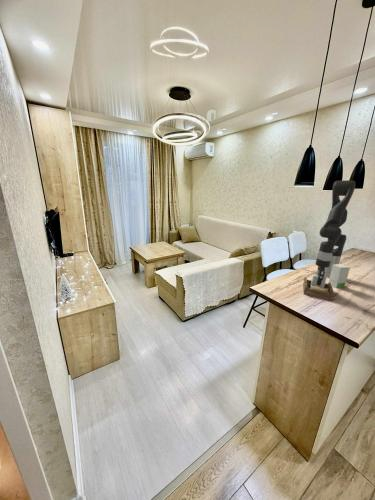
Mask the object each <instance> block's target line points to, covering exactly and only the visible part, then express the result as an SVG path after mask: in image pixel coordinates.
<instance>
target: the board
mask: <svg viewBox="0 0 375 500" xmlns="http://www.w3.org/2000/svg"><path fill="white" fill-rule="evenodd" d="M320 278H322V277H320ZM317 280H318V276H317V274H315V273H313V274H312V277H311V285H312V286H316V287H321V288H324V286H325V283H326V282H327V277H326V276H324V278H323V280H322V282H321V285H320V286H319V285H317ZM310 287H311V286H310Z"/></svg>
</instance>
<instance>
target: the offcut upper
mask: <svg viewBox="0 0 375 500" xmlns="http://www.w3.org/2000/svg"><path fill="white" fill-rule="evenodd" d="M310 289H314V290H318V291H323V292H328V289H326V288H321V287H316V286H312V285H311V287H310Z"/></svg>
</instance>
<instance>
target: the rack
mask: <svg viewBox="0 0 375 500" xmlns="http://www.w3.org/2000/svg"><path fill="white" fill-rule="evenodd" d="M311 281H312V279H311V280H310V279H307V277H304V278H303V282H302V289H303V295H306V296H309V297H313V298H318V299H323V300H327V301H333V300H334V296H335V291H334V289H333V288H334V287H333V286H332V285H331V283H329V281H328V283H326V282H325V286H324V288H326V289H328V292H323V291H318V290H314V289H309V288H310V286H311Z"/></svg>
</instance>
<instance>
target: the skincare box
mask: <svg viewBox="0 0 375 500" xmlns="http://www.w3.org/2000/svg"><path fill="white" fill-rule="evenodd" d="M350 269H351V266H348V265H346V264H341V263H339V264H333V267H332V271H331V275H330V277H328V278H329V279H328V282H329V283H331V285H332V288H335V289H341V288H345V287H346V283H347V279H348V276H349V272H350Z"/></svg>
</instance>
